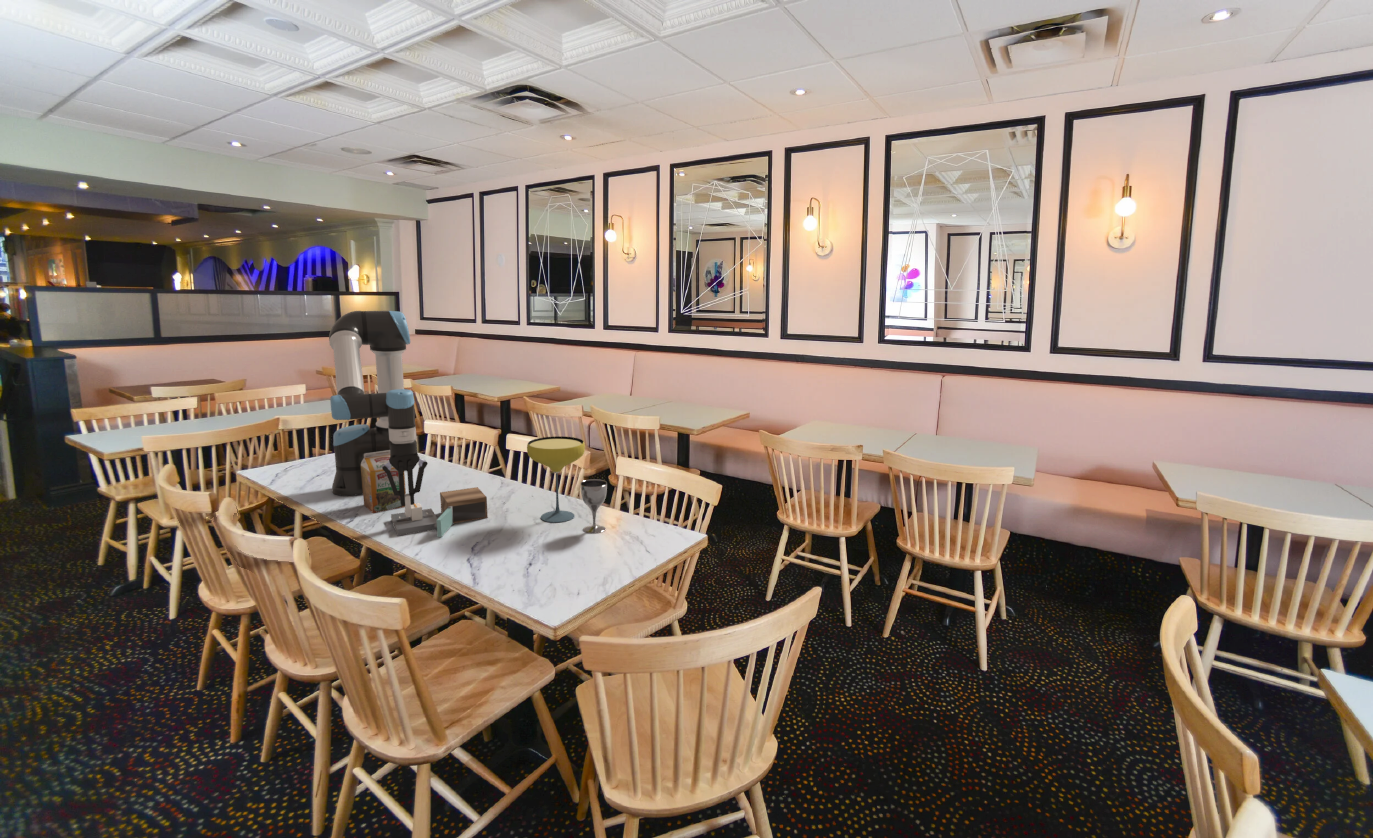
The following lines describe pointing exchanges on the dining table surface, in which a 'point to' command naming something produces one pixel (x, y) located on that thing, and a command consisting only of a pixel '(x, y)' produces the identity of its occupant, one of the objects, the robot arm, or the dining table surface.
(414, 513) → the fader knob
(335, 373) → the robot arm
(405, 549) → the dining table surface
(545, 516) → the cocktail glass
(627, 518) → the dining table surface
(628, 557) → the dining table surface
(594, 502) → the wine glass
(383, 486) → the milk carton
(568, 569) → the dining table surface
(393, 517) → the mixer strip
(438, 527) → the rack door
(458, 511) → the box
